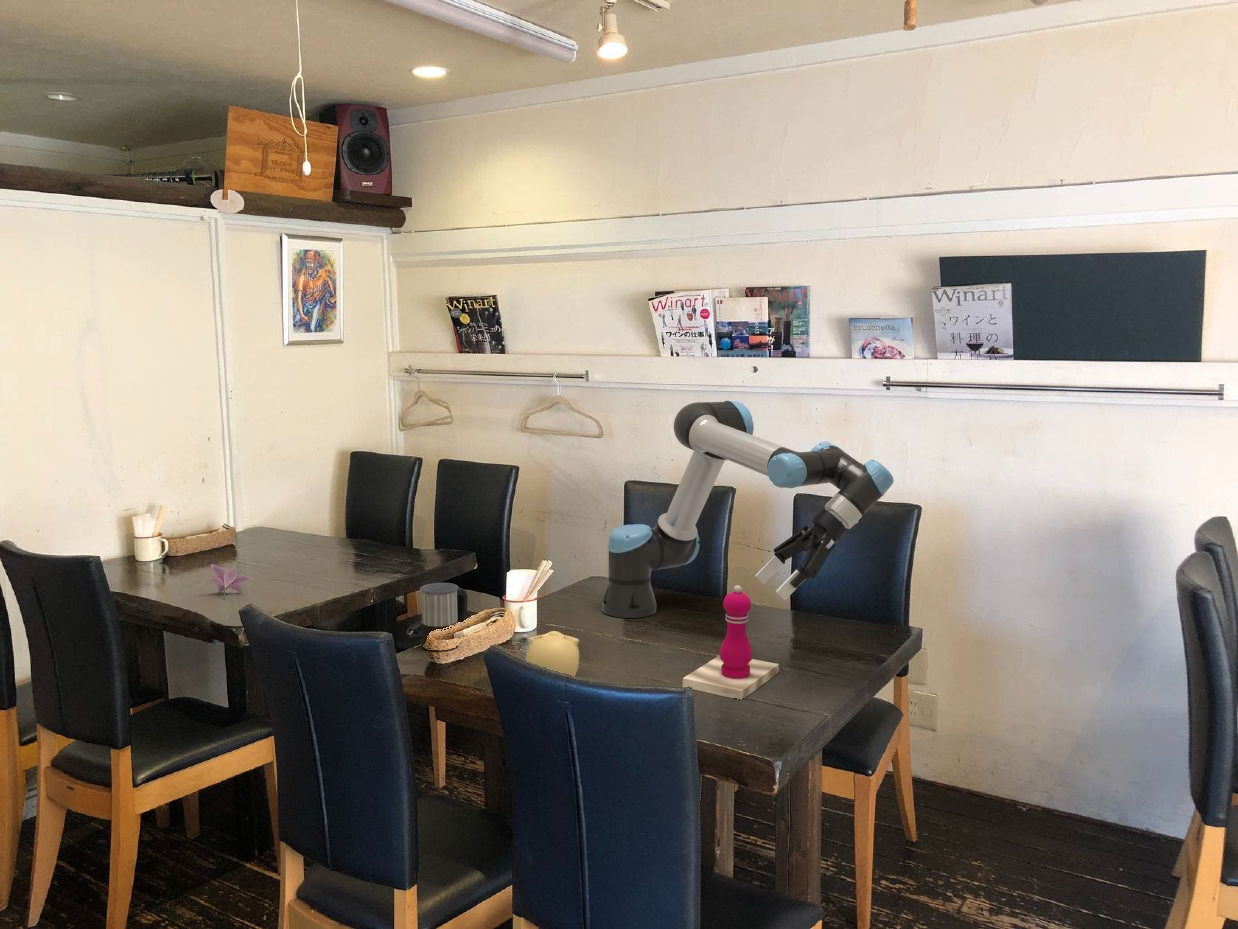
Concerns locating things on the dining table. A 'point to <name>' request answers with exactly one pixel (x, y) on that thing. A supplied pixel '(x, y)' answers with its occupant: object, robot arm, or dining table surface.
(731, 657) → the pepper mill
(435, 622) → the milk frother
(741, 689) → the serving board
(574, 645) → the sculpture
